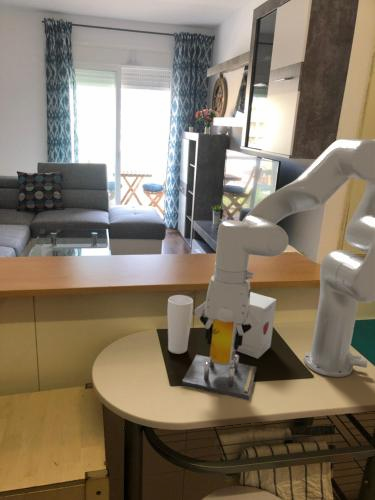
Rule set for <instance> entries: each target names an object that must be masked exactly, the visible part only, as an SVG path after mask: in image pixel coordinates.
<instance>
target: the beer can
mask: <svg viewBox="0 0 375 500" xmlns="http://www.w3.org/2000/svg"><path fill="white" fill-rule="evenodd" d="M212 324H213V326H212V337H211V344H210V348H209V349H210V350H209V357H210V358H211V359H212V361H213V362H214V363H215V364H218V365H223V366H225V365H229V364H231V363H232V362H234V359H235V355H236V352H237V351H236V350H235V340H236V334H237V332H238V330H237V327H236V324H235V323H234V317H233V312H232V311H231V310H230V308H225V307H221V308H220V309H218V310H217V313H216V318H215V320H214V321H213V323H212Z"/></svg>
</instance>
